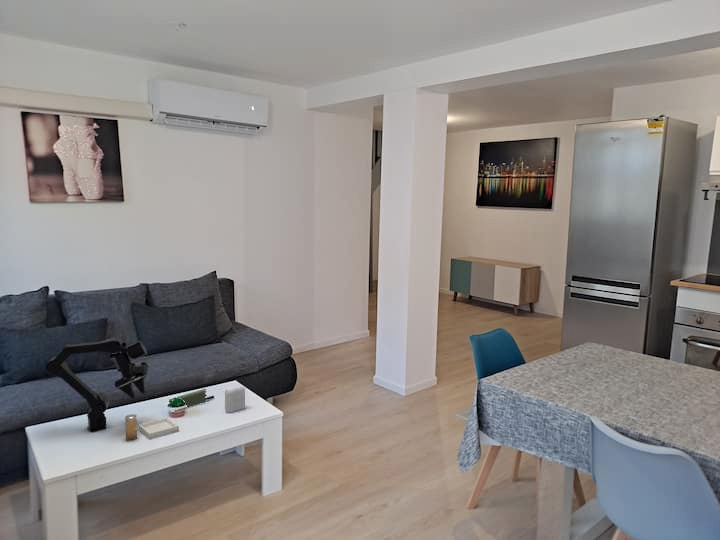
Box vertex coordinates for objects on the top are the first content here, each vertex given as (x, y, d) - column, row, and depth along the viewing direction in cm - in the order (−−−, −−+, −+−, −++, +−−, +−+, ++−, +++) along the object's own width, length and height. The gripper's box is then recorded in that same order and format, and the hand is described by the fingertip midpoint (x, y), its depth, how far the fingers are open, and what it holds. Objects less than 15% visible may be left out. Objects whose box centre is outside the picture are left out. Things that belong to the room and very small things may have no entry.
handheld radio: (168, 411, 258) (211, 398, 278) (172, 413, 256) (215, 399, 276) (168, 398, 258) (211, 386, 277) (171, 400, 256) (215, 387, 275)
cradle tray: (149, 439, 227) (149, 433, 226) (138, 429, 236) (138, 424, 236) (178, 431, 235) (178, 425, 235) (167, 422, 245) (166, 417, 245)
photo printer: (241, 406, 266) (241, 382, 265) (246, 408, 263) (246, 384, 262) (223, 411, 259) (223, 387, 258) (228, 414, 256) (227, 389, 255)
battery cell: (128, 441, 224) (127, 419, 223) (124, 438, 227) (123, 416, 226) (138, 439, 227) (138, 416, 226) (135, 435, 230) (134, 413, 229)
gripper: (130, 360, 227) (145, 393, 227) (150, 353, 246) (163, 383, 245) (107, 370, 228) (122, 403, 227) (128, 363, 246) (142, 393, 246)
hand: (139, 395), depth 236 cm, fingers open, 9 cm apart
